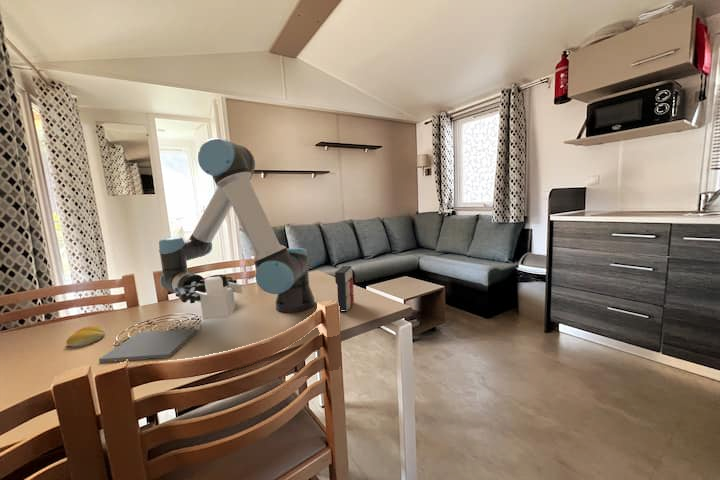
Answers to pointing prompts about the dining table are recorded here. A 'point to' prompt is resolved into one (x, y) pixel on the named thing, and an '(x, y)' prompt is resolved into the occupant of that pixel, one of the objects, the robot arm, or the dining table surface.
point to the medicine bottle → (218, 298)
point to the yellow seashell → (85, 336)
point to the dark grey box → (344, 287)
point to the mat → (150, 345)
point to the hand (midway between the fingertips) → (225, 293)
